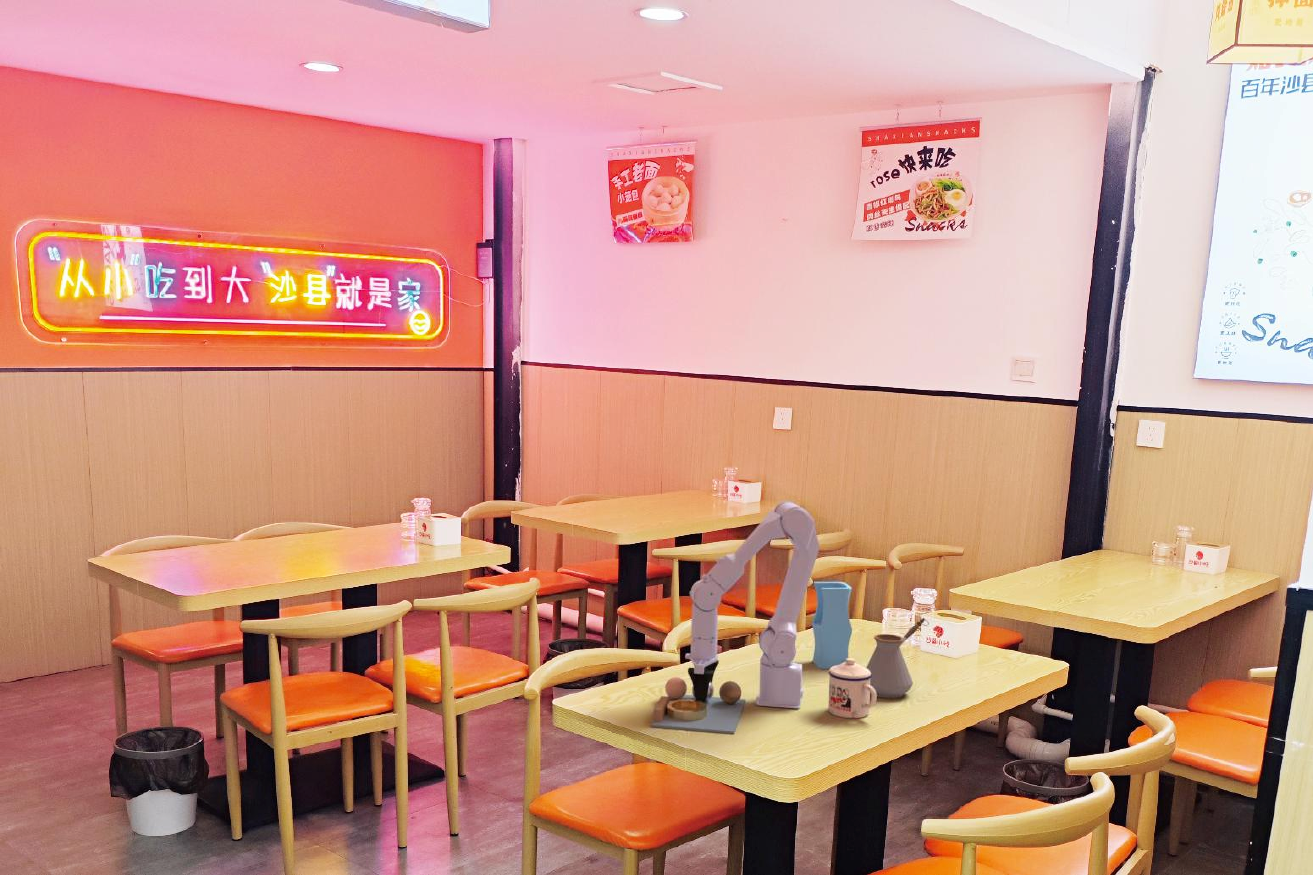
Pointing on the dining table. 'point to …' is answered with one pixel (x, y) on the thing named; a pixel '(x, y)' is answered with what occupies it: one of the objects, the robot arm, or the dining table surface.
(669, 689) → the terracotta ball
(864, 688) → the teacup with lid
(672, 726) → the slate mat
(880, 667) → the coffee pot
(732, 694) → the walnut ball
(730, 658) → the dining table surface
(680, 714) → the tan round shallow dish
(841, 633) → the vase
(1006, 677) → the dining table surface
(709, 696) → the silver steel ball
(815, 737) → the dining table surface
